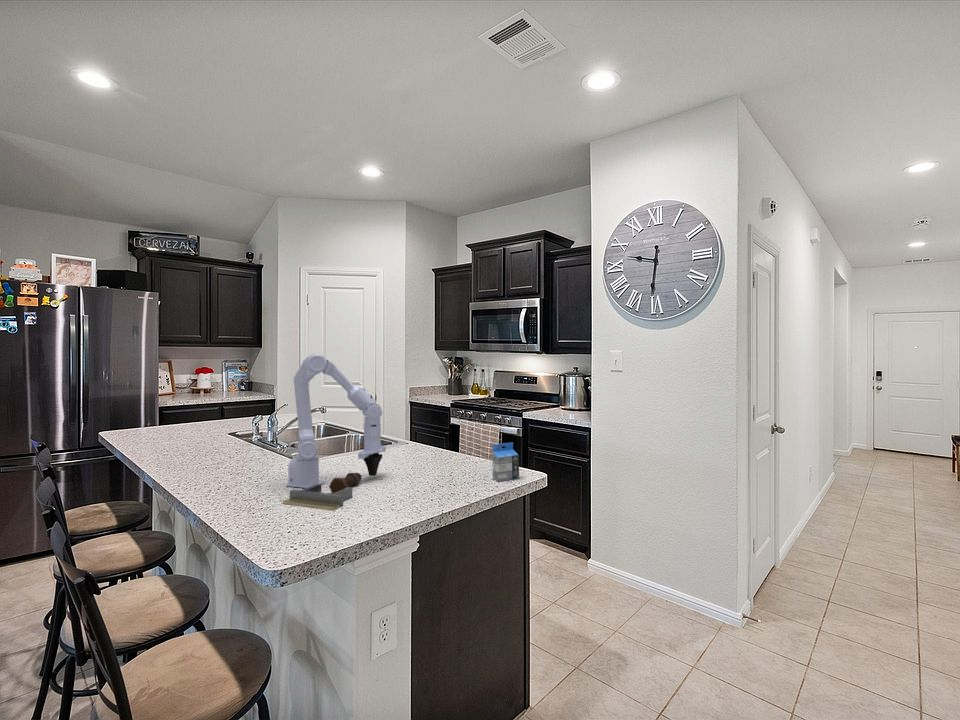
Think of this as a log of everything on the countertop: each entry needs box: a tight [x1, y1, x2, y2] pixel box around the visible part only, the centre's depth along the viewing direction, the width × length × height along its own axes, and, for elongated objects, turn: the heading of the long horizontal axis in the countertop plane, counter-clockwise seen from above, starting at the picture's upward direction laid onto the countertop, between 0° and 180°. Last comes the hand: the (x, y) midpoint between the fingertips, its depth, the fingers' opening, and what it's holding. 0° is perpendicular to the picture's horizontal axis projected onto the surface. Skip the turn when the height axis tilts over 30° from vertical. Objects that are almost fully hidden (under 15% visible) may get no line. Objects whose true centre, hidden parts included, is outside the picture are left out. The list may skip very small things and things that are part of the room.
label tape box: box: [491, 442, 520, 482], centre depth 175 cm, size 9×4×12 cm, turn 120°
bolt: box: [329, 472, 362, 494], centre depth 164 cm, size 6×5×15 cm
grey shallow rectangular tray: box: [281, 484, 353, 511], centre depth 150 cm, size 18×12×3 cm
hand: (372, 475), depth 176 cm, fingers closed
